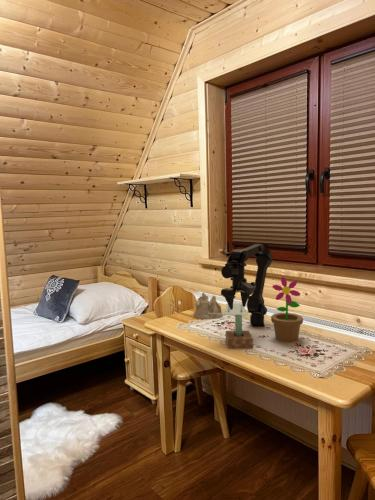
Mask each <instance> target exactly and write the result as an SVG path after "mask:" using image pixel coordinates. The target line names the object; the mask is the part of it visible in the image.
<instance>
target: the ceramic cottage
mask: <svg viewBox="0 0 375 500" xmlns="http://www.w3.org/2000/svg"><path fill="white" fill-rule="evenodd" d="M194 305H195V311H194V315H193V316H195V318H197V319H201V320H209V319H210V320H213V319H216V320H217V319H222V318H223V317H224V315H223V314H222V312H223V311H222V306H221V305H220V304H219V302H218V301H217V297H216V295H212V297H211V298H210V300H209V295H206V293H205V292H204V291H203V292H202V293H201V295H200V296H199V297H198V298H197V300H196V299H195V304H194Z"/></svg>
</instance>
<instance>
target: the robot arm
mask: <svg viewBox="0 0 375 500" xmlns="http://www.w3.org/2000/svg"><path fill="white" fill-rule="evenodd" d="M252 256H254V257H255V262H256V265H257V270H256V275H255V281H251V282H248V281H247V280H248V279H247V278H246V277H245V267H247V266H248V265H247V263H246V262H247V261H248V260H249V257H252ZM273 259H274V255H273V253H272V250H270V249H268V248H267V247H265V246H264V245H263V244H261V243H253V244H252V245H250V246H248V247H245V248H241V249H240V248H239V249H232V250H231V252H230V254H229V256H228V258H227V261H226V263H225V264H224V266H223V267H222V269H221V273H220V274H221V276H222V277H223V278H224V279H230V281H232V285H231V286H230V288H229V287H227V288H222V289H221V290H220V295H221V296H222V297H224V298H225V301H226V302H227V303H226V304H228V305H229V307H230V309H231V310H233V304H234V299H235V298H236V294H238V293H240V298H241V299H240V300H241V304H242V305H243V307H245V308H247V312H248V314H250V315H249V324H250V325H251V326H252V327H265V315H267V312H268V309H267V307H266V305H265V299H264V297H263V294H264V289H265V288H264V287H265V283H266V278H267V271H268V268H270V266H271V265H272V262H273Z"/></svg>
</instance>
